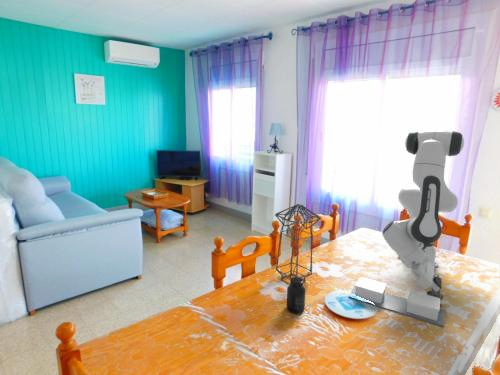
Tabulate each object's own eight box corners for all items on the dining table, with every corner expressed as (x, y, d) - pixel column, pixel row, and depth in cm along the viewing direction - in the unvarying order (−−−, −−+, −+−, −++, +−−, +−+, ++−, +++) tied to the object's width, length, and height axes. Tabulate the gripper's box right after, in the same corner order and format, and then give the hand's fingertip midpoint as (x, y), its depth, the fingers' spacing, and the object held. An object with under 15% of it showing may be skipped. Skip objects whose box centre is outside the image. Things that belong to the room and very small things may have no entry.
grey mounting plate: (355, 285, 137) (357, 274, 136) (443, 310, 120) (445, 298, 119) (348, 297, 127) (349, 285, 126) (443, 327, 110) (445, 313, 109)
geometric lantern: (268, 278, 141) (272, 202, 135) (293, 269, 151) (298, 198, 145) (293, 292, 129) (299, 210, 123) (318, 283, 139) (325, 206, 133)
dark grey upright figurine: (444, 308, 122) (449, 279, 120) (428, 305, 123) (432, 277, 121) (439, 299, 128) (443, 272, 125) (423, 298, 129) (427, 270, 126)
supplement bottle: (305, 306, 120) (307, 277, 118) (302, 316, 114) (304, 286, 111) (288, 302, 122) (289, 274, 120) (284, 312, 116) (286, 282, 114)
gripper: (418, 263, 116) (445, 295, 113) (422, 246, 133) (446, 274, 130) (403, 271, 120) (429, 303, 117) (409, 253, 137) (432, 280, 134)
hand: (438, 287), depth 124 cm, fingers closed on dark grey upright figurine, 3 cm apart
